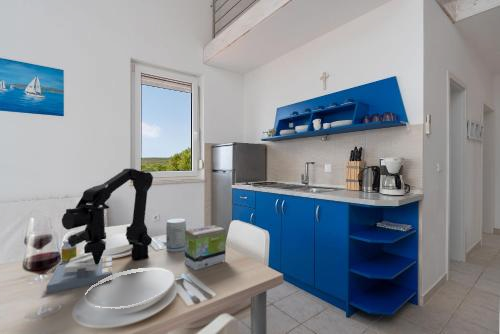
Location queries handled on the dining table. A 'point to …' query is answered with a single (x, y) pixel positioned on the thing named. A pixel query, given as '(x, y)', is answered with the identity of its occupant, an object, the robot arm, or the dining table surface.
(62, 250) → the supplement bottle
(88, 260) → the rocker
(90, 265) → the rocker
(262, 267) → the dining table surface
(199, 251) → the tea box
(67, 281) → the switch panel
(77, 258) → the rocker
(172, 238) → the supplement tub
